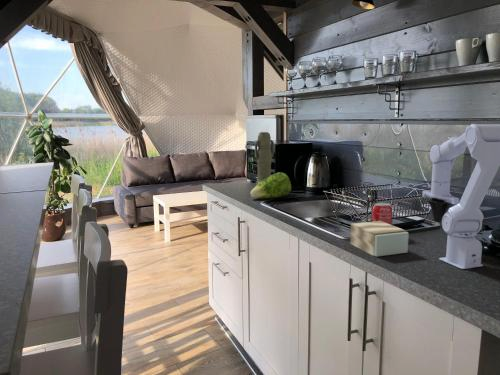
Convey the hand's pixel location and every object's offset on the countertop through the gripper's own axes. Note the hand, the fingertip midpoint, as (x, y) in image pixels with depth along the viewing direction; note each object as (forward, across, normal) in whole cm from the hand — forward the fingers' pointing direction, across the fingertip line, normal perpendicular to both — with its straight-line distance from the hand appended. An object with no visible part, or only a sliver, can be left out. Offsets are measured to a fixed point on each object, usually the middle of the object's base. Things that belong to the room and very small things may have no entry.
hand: (438, 221), depth 146 cm
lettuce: (+10, +103, +21) cm, 106 cm away
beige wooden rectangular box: (+9, +7, +19) cm, 22 cm away
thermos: (+10, +123, +17) cm, 125 cm away
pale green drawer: (+9, +6, +19) cm, 22 cm away
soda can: (+10, +20, +8) cm, 24 cm away
